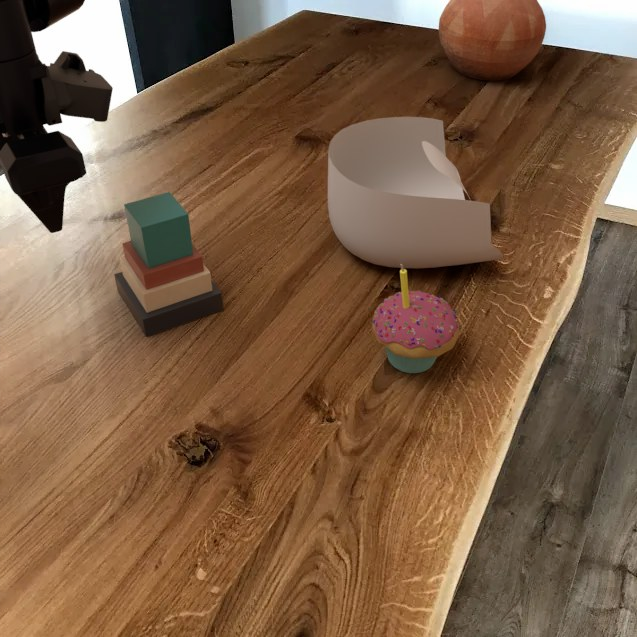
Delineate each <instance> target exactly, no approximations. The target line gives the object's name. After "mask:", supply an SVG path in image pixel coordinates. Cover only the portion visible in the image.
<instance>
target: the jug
mask: <svg viewBox="0 0 637 637" xmlns="http://www.w3.org/2000/svg"><path fill="white" fill-rule="evenodd" d="M546 30H547V20H546V15H545V13H544V10H543V7H542V6H541V4H540V2H539V1H538V0H449V1H448V3H447V4H446V6H445V7H444V9H443V10H442V13H441V15H440V16H439V19H438V37H439V42H440V45H441V48H442V50H443V52H444V53H445V55H446V57H447V59H448V60H449V62H450V63H451V65H452V66H453V68H454V69H455V70H456V71H457V72H458V73H459V74H461V75H463V76H466V77H467V78H470V79H474V80H478V81H479V80H480V81H484V82H485V81H487V82H488V81H489V82H490V81H491V82H496V81H497V82H498V81H504V80H509V79H511V78H514V77H515V76H516V75H518V74H519V73H520V72H521V71H522V70H523V69H524V68H525V67H526V66H528V65H529V64H530V63H531V62H532V61H533V59H534V58H535V57H536V56H537V55H538V53H539V51H540V50H541V47H542V45H543V42H544V39H545V36H546V32H547V31H546Z"/></svg>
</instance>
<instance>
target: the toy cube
mask: <svg viewBox="0 0 637 637" xmlns="http://www.w3.org/2000/svg"><path fill="white" fill-rule="evenodd" d="M123 207H124V212H125V216H126V223H127V227H128V232H129V237H130V241H131V244H132V245H133V247H134V248H135V250H136V251H137V253H138V254H139V256H140V257H141V258H142V260H143V261H144V263H145V264H146V266H147V267H148V268H151V267H154V266H157V265H161V264H164V263H167V262H170V261H173V260H176V259H180V258H183V257H186V256H189V255H192V254H193V248H192V244H193V240H192V234H191V225H190V216H189V213H188V212H187V211H186V209H185V208H184V207H183V206H182V205H181V203H180V202H179V201H178V200H177V198H175V196H174V195H173V194H172V193H171V192H170V191H167V192H163V193H161V194H156V195H153V196H150V197H145V198H142V199H138V200H134V201H130V202H127V203H124V205H123Z"/></svg>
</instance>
